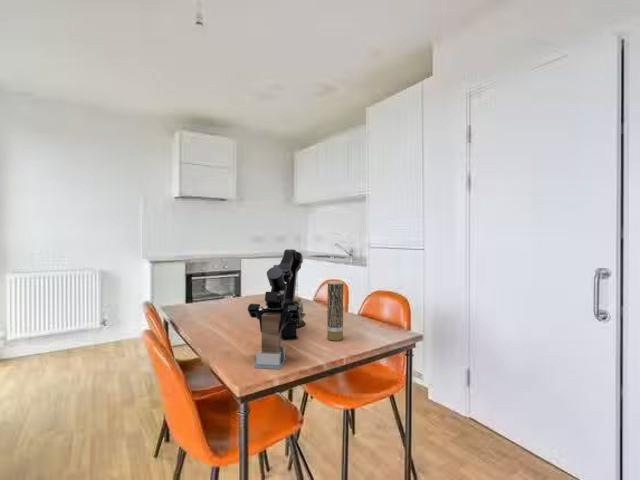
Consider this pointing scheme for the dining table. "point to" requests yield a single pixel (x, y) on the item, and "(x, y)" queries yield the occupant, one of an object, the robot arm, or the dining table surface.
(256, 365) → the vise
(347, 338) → the dining table surface
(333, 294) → the paper tube
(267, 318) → the walnut slab
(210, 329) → the dining table surface
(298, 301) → the owl figurine
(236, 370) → the dining table surface
